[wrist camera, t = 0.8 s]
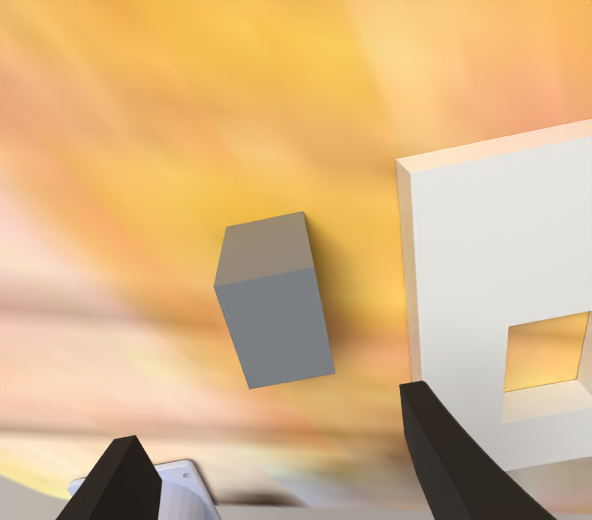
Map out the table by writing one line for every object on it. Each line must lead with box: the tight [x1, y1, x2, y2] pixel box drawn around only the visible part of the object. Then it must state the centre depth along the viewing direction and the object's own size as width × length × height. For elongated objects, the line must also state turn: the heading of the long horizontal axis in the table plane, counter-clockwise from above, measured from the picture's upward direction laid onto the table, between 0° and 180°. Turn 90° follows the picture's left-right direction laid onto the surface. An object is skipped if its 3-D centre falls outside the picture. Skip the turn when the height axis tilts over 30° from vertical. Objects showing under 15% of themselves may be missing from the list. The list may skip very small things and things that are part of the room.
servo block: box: [214, 212, 335, 389], centre depth 17 cm, size 5×4×5 cm
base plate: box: [396, 119, 592, 471], centre depth 21 cm, size 20×14×2 cm
